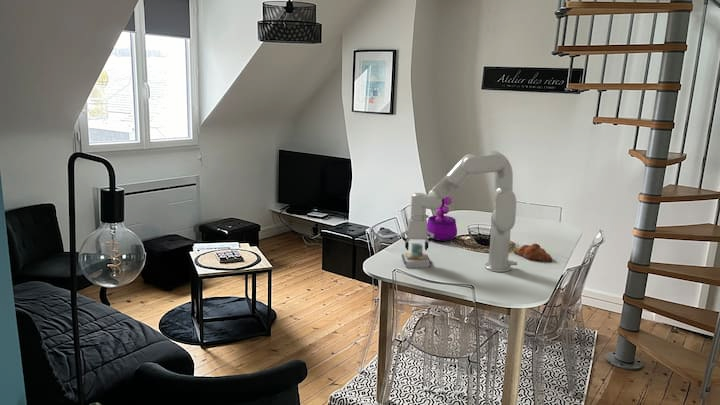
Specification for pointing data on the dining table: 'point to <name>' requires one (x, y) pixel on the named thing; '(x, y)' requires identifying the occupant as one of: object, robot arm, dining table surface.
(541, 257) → the pastry
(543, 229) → the dining table surface
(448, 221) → the decorative plant
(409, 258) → the pallet
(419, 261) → the dock
